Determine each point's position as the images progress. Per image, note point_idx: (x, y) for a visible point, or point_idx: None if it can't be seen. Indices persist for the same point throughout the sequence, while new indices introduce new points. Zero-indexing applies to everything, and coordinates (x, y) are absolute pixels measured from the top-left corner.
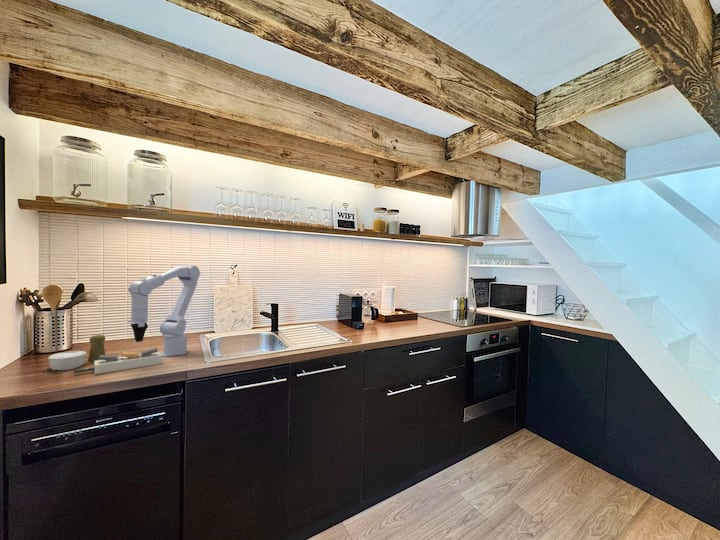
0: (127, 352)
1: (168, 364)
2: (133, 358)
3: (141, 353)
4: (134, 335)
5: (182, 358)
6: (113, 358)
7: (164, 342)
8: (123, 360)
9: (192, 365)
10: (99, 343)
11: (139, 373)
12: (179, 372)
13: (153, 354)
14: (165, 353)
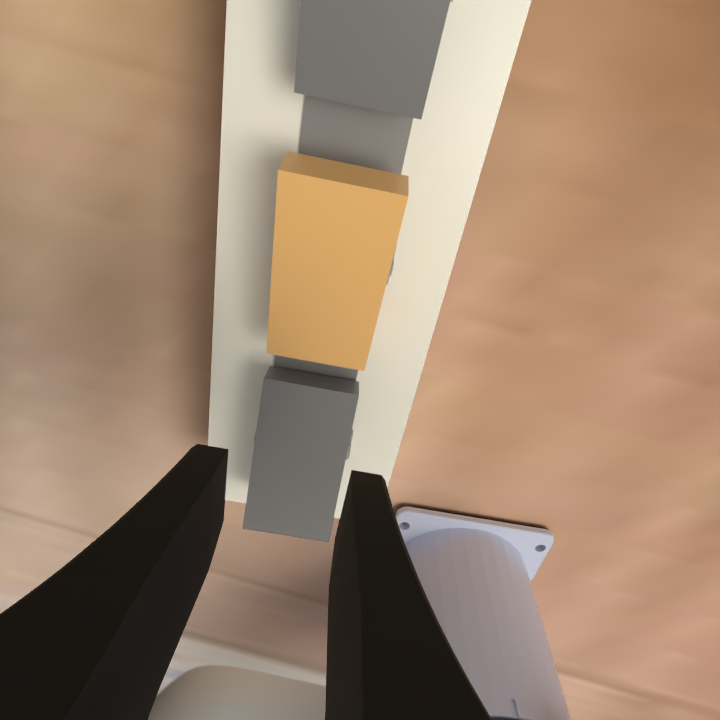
0: (377, 261)
1: (164, 461)
2: None
3: (293, 384)
4: (353, 549)
5: (266, 565)
6: (301, 23)
7: (471, 644)
8: (260, 158)
9: (35, 544)
10: None
11: (14, 219)
12: None
13: None
14: (435, 541)
